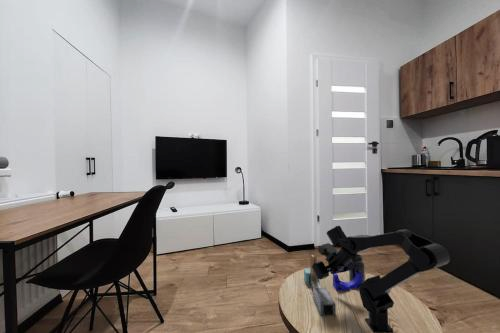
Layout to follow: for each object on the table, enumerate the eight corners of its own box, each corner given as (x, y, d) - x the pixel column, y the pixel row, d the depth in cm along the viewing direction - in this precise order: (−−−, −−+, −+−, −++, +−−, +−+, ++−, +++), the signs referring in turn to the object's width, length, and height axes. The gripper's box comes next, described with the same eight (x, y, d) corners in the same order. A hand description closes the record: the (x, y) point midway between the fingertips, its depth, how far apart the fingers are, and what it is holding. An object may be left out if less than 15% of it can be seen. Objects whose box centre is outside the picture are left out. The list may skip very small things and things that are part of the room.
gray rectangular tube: (335, 315, 88) (335, 303, 88) (320, 315, 88) (320, 304, 88) (326, 297, 100) (325, 287, 100) (313, 298, 100) (312, 287, 100)
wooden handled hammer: (325, 300, 97) (324, 266, 97) (317, 300, 97) (316, 266, 97) (314, 279, 115) (313, 251, 115) (308, 279, 115) (307, 251, 115)
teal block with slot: (319, 283, 112) (319, 273, 112) (306, 284, 112) (306, 273, 112) (316, 279, 117) (316, 268, 117) (304, 279, 117) (303, 268, 117)
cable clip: (336, 290, 106) (335, 276, 106) (333, 285, 110) (332, 272, 111) (364, 290, 106) (363, 276, 106) (359, 285, 110) (359, 272, 110)
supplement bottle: (346, 279, 116) (345, 254, 116) (357, 277, 118) (356, 252, 118) (357, 286, 109) (356, 259, 109) (368, 283, 112) (367, 256, 112)
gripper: (346, 235, 105) (328, 254, 114) (314, 242, 96) (297, 262, 105) (363, 259, 98) (342, 277, 107) (330, 269, 89) (310, 288, 98)
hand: (323, 275), depth 105 cm, fingers open, 9 cm apart
